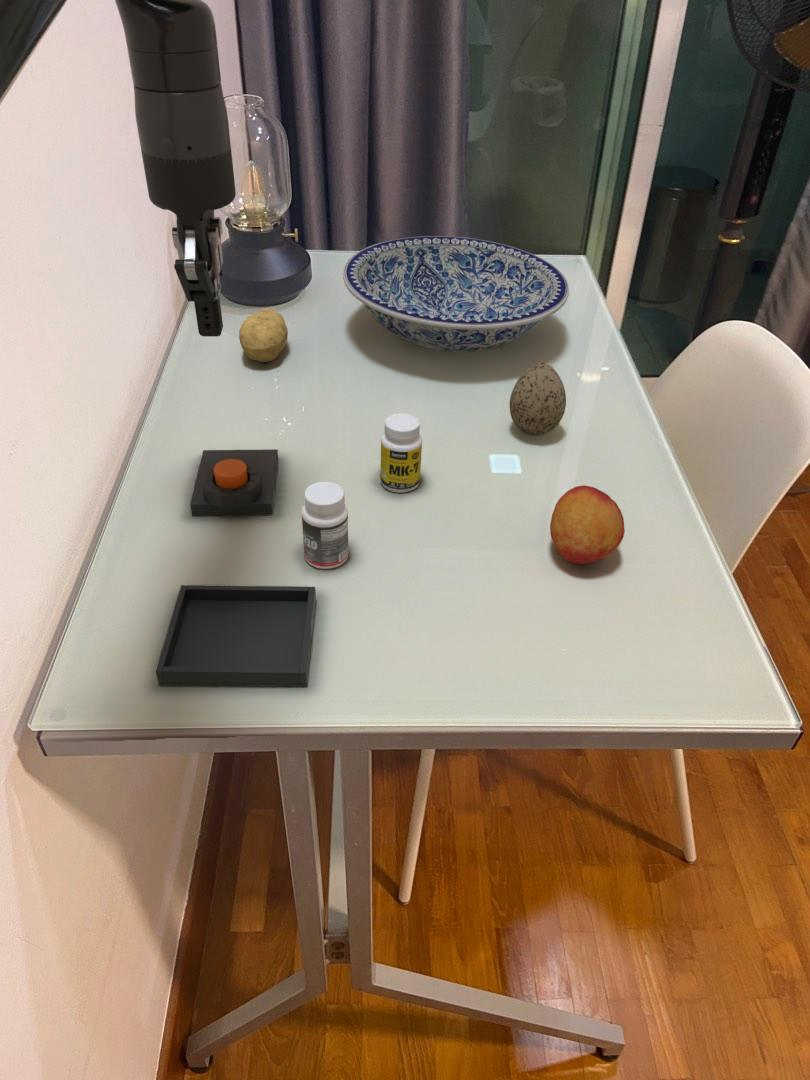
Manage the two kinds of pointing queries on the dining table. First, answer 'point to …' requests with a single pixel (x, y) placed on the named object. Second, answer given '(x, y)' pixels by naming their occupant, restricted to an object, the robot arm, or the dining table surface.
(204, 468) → the black button base
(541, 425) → the decorative egg
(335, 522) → the pill bottle
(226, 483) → the timer button
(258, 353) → the potato
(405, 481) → the supplement bottle
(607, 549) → the fruit
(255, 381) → the dining table surface
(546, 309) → the ceramic bowl
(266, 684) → the shallow black tray
